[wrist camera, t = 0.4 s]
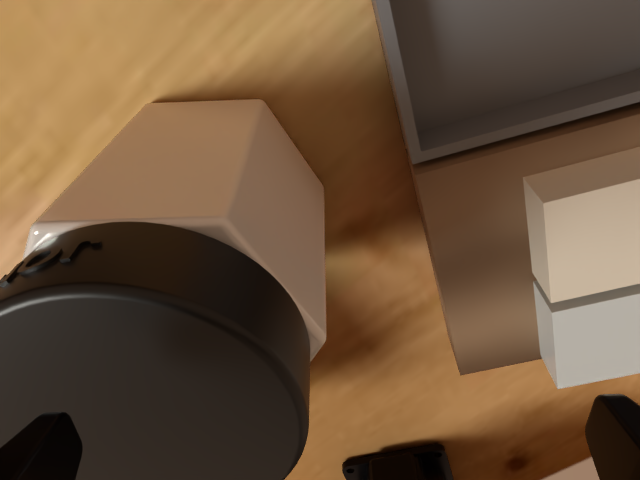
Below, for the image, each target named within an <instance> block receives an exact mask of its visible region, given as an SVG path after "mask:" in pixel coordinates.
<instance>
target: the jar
mask: <svg viewBox="0 0 640 480" xmlns="http://www.w3.org/2000/svg"><path fill="white" fill-rule="evenodd" d="M326 338H327V333H326V269H325V205H324V187H323V185H322V183H321V182H320V181H319V179H318V178H317V176H316V175H315V173H314V172H313V170H312V169H311V168H310V166H309V165H308V163H307V162H306V160H305V159H304V158H303V156H302V155H301V153H300V152H299V150H298V149H297V148H296V146H295V145H294V143H293V142H292V140H291V139H290V137H289V136H288V135H287V133H286V132H285V130H284V129H283V127H282V126H281V125H280V123H279V122H278V120H277V119H276V117H275V116H274V114H273V113H272V112H271V110H270V109H269V107H268V106H267V104H266V103H265V102H264V101H263V100H261V99H243V100H217V101H191V102H166V103H148V104H146V105H145V106H144V107H143V108H142V109H141V110H140V111H139V112H138V113H137V114H136V115H135V116H134V117H133V118H132V119H131V120H130V121H129V122H128V124H127V125H126V126H125V127H124V128H123V129H122V130H121V131H120V132H119V133H118V134H117V135H116V136H115V137H114V138H113V139H112V140H111V142H110V143H109V144H108V145H107V146H106V147H105V148H104V149H103V150H102V151H101V152H100V153H99V154H98V155H97V156H96V157H95V158H94V160H93V161H92V162H91V163H90V164H89V165H88V166H87V167H86V168H85V169H84V170H83V171H82V172H81V173H80V174H79V175H78V176H77V178H76V179H75V180H74V181H73V182H72V183H71V184H70V185H69V186H68V187H67V188H66V189H65V190H64V191H63V192H62V193H61V194H60V196H59V197H58V198H57V199H56V200H55V201H54V202H53V203H52V204H51V205H50V206H49V207H48V208H47V209H46V210H45V211H44V212H43V214H42V215H41V216H40V217H39V218H38V219H37V220H36V221H35V222H34V223H33V224H32V226H31V228H30V231H29V235H28V239H27V243H26V247H25V251H24V255H23V259H22V262H20V263H19V264H17V265H16V266H15V267H14V269H13V270H12V271H11V272H10V273H9V274H8V275H5V276H4V277H3V278H2V279H1V280H0V447H2V446H3V445H4V444H5V443H6V442H7V441H9V440H10V439H11V438H12V437H13V436H15V435H16V434H17V433H18V432H19V431H21V430H22V429H23V428H24V427H25V426H27V425H28V424H29V423H30V422H31V421H32V420H34V419H35V418H36V417H37V416H39V415H41V414H43V413H47V412H66V413H67V414H69V415H70V417H71V419H72V421H73V423H74V425H75V428H76V430H77V432H78V434H79V436H80V438H81V441H82V446H83V451H82V457H81V461H80V465H79V468H78V472H77V476H76V479H75V480H284V479H285V478H286V477H287V476H288V475H289V473H290V472H291V471H292V470H293V468H294V467H295V465H296V464H297V462H298V460H299V459H300V457H301V455H302V452H303V450H304V447H305V444H306V440H307V435H308V428H309V393H310V363H311V361H312V360H313V358H314V357H315V356H316V354H317V353H318V351H319V350H320V349H321V347H322V346H323V345H324V343H325V341H326Z"/></svg>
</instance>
